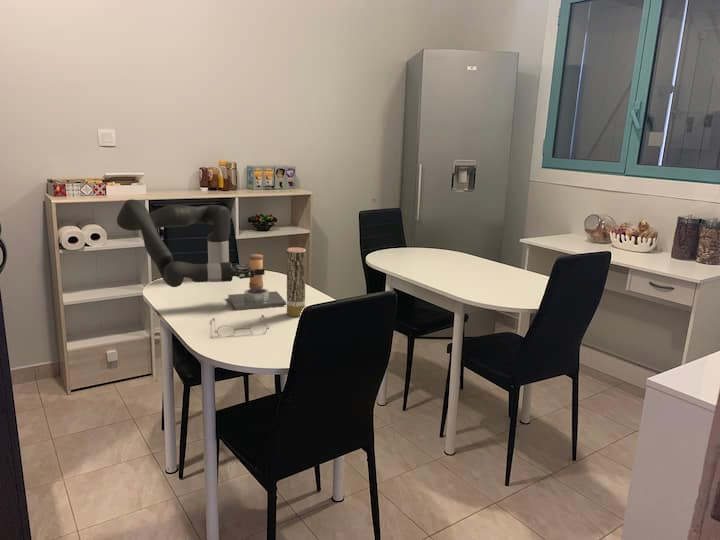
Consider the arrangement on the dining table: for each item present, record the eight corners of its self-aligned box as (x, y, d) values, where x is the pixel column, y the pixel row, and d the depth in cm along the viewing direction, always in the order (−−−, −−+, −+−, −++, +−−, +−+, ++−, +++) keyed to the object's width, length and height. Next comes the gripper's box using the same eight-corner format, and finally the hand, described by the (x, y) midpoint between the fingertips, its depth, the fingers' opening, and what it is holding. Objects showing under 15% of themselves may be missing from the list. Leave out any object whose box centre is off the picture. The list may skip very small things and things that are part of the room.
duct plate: (228, 298, 229) (228, 287, 228) (276, 294, 236) (276, 284, 235) (234, 310, 215) (234, 298, 214) (286, 305, 222) (286, 294, 221)
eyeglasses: (214, 338, 187) (214, 326, 186) (212, 321, 205) (212, 310, 204) (269, 334, 192) (269, 323, 191) (262, 318, 210) (262, 308, 209)
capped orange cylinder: (248, 286, 225) (247, 254, 222) (261, 285, 227) (261, 253, 224) (250, 289, 220) (250, 257, 217) (264, 289, 222) (264, 256, 219)
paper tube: (297, 310, 217) (297, 246, 211) (308, 314, 212) (309, 249, 206) (283, 313, 212) (283, 248, 206) (294, 318, 208) (294, 252, 202)
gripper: (221, 267, 210) (266, 265, 216) (216, 258, 223) (259, 257, 229) (221, 286, 211) (266, 283, 218) (216, 277, 224) (259, 275, 231)
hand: (262, 270), depth 223 cm, fingers closed on capped orange cylinder, 5 cm apart
